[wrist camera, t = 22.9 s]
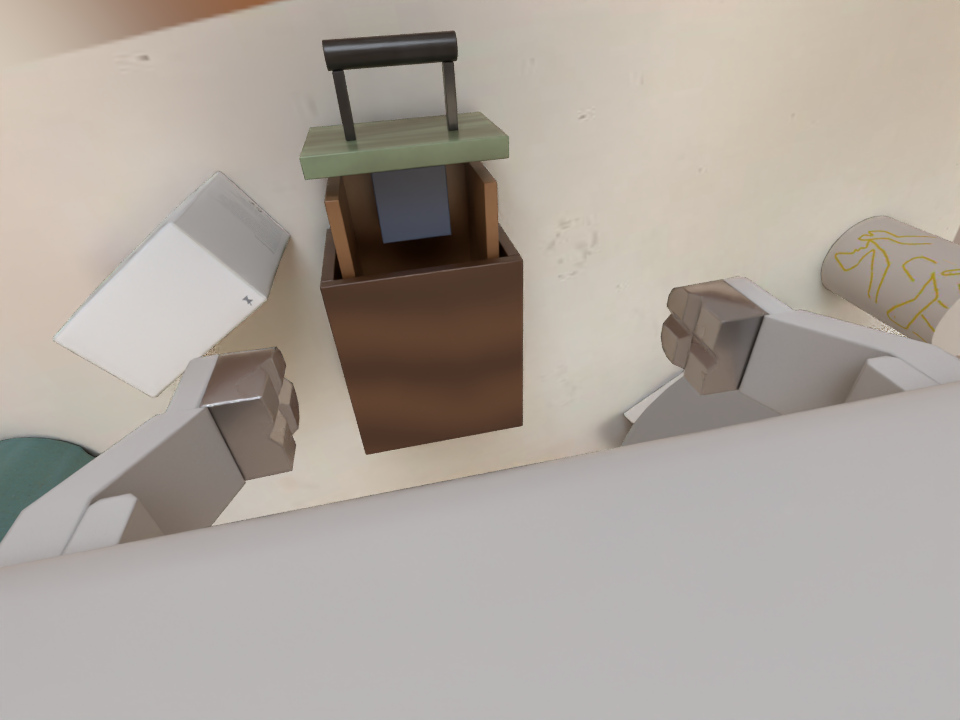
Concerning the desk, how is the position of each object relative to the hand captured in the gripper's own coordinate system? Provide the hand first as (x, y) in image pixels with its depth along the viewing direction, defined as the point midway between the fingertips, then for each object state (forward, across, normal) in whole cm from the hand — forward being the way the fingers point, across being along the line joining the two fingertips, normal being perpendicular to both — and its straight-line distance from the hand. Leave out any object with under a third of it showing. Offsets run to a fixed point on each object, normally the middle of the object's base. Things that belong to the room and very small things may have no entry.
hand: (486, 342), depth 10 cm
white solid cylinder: (+29, -44, +17) cm, 55 cm away
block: (+27, 0, +4) cm, 27 cm away
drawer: (+28, 0, +5) cm, 28 cm away
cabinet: (+29, 0, +15) cm, 33 cm away
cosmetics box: (+29, +15, +8) cm, 34 cm away
